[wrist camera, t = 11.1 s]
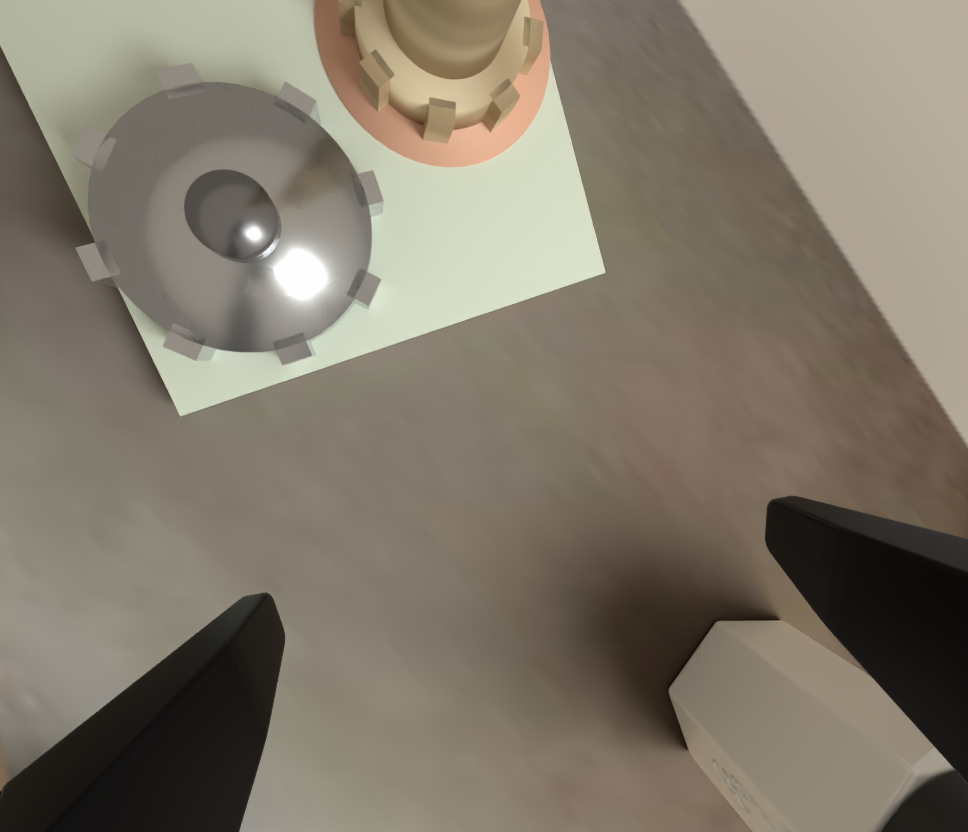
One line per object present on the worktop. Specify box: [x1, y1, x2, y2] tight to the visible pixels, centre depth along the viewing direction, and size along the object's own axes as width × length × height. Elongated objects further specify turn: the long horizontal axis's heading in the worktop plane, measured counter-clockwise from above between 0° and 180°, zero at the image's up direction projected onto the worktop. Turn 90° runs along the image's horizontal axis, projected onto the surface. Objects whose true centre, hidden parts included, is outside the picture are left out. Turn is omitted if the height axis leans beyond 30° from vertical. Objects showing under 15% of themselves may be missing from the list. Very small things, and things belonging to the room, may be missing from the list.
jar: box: [668, 620, 968, 832], centre depth 20 cm, size 9×8×12 cm
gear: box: [71, 63, 384, 365], centre depth 15 cm, size 9×9×2 cm
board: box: [0, 0, 605, 416], centre depth 17 cm, size 17×14×1 cm
